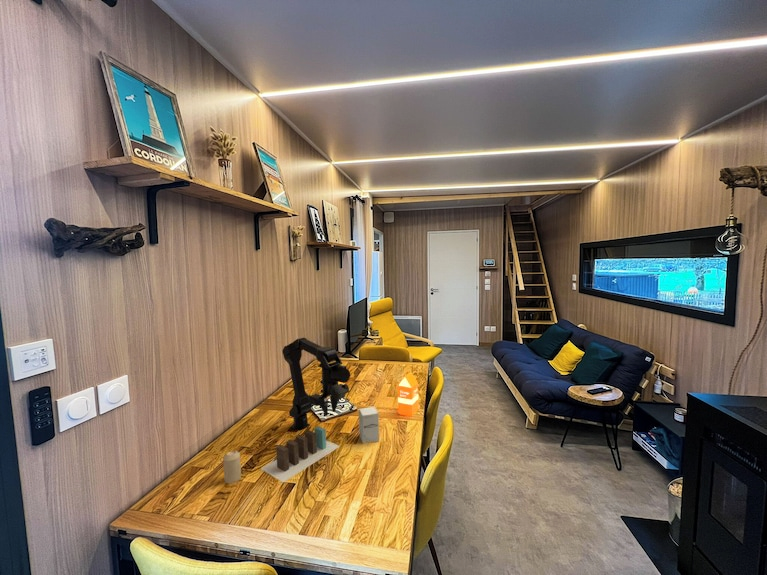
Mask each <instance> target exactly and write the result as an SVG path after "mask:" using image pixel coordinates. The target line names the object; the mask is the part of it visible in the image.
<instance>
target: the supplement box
mask: <svg viewBox="0 0 767 575" xmlns="http://www.w3.org/2000/svg"><path fill="white" fill-rule="evenodd" d="M379 416H380V414H379V412H378V410H377V408H376V407H375V406H371V407H363V408H358V424H359V425H358V427H359V428H358V430H359V432H358V433H359V437H360V439H361V442H362V444H367V443H368V444H369V443H374V442H375V443H376V442H379V441H380V430H379V429H380V428H379V426H380V425H379Z"/></svg>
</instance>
